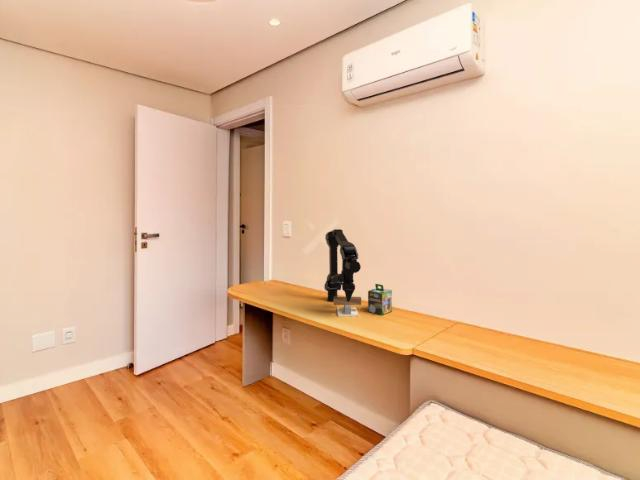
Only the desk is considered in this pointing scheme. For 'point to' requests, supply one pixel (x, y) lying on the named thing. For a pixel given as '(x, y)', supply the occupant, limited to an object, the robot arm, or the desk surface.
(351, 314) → the fulcrum
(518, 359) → the desk surface
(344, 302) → the bar
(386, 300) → the chalk box
